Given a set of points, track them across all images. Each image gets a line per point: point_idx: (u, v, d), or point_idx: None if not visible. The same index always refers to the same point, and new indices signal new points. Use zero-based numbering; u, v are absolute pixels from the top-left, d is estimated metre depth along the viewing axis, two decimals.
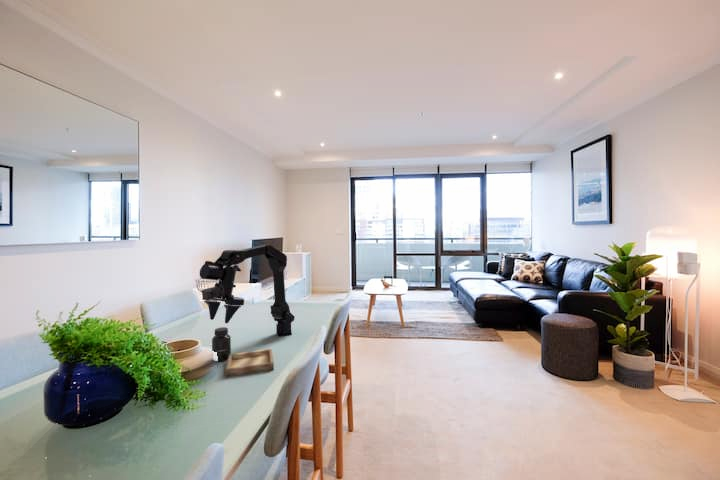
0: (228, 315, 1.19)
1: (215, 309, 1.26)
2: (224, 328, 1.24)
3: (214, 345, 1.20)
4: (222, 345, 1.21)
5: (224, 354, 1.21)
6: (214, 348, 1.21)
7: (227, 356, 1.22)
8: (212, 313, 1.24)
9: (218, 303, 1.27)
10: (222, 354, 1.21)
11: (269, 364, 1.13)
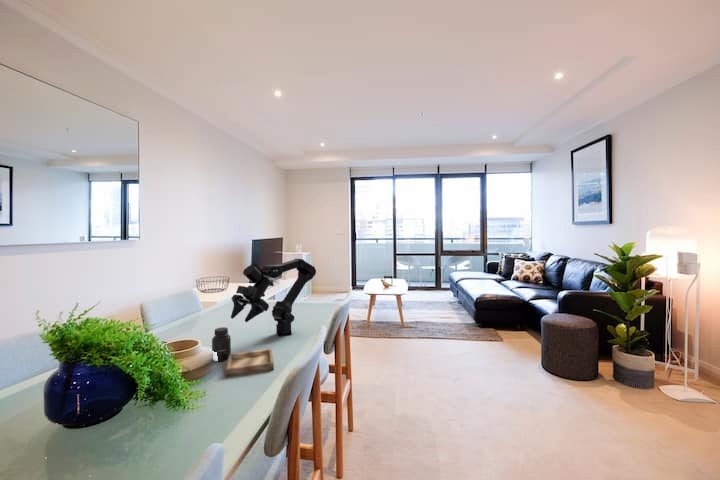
0: (250, 314, 1.28)
1: (238, 311, 1.35)
2: (224, 328, 1.24)
3: (214, 345, 1.20)
4: (222, 345, 1.21)
5: (224, 354, 1.21)
6: (214, 348, 1.21)
7: (227, 356, 1.22)
8: (234, 312, 1.34)
9: (242, 307, 1.37)
10: (222, 354, 1.21)
11: (269, 364, 1.13)
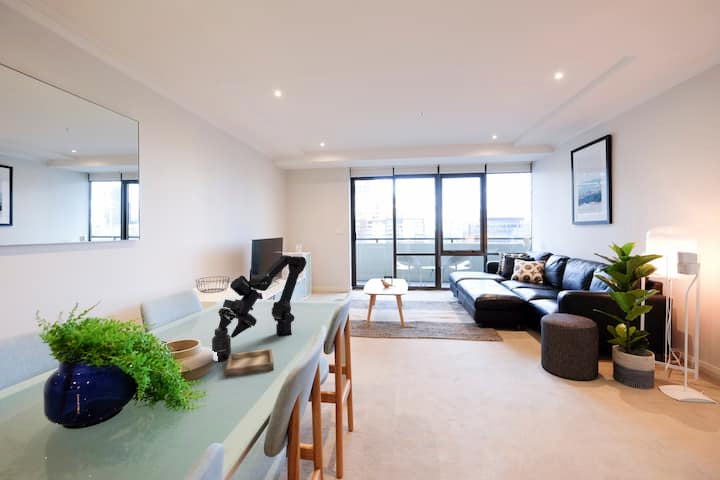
0: (237, 330, 1.23)
1: (224, 325, 1.30)
2: (224, 328, 1.24)
3: (214, 345, 1.20)
4: (222, 345, 1.21)
5: (224, 354, 1.21)
6: (214, 348, 1.21)
7: (227, 356, 1.22)
8: None
9: (229, 321, 1.32)
10: (222, 354, 1.21)
11: (269, 364, 1.13)
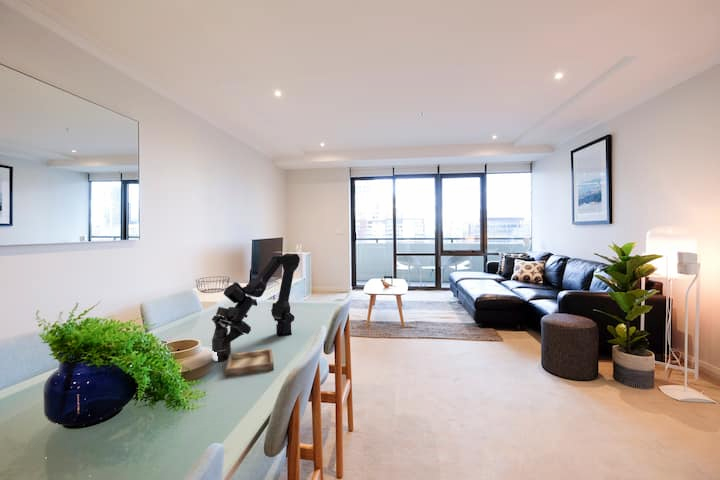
0: (229, 338, 1.21)
1: None
2: (224, 328, 1.24)
3: (214, 345, 1.20)
4: (222, 345, 1.21)
5: (224, 354, 1.21)
6: (214, 348, 1.21)
7: (227, 355, 1.22)
8: None
9: None
10: (222, 354, 1.21)
11: (269, 364, 1.13)
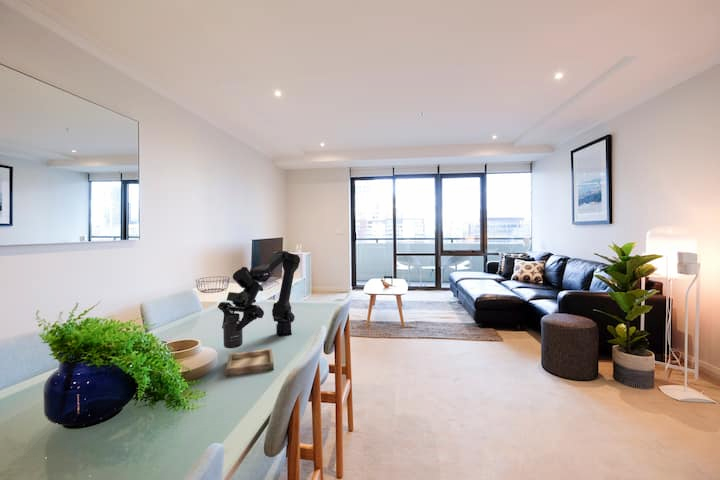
0: (243, 322, 1.18)
1: None
2: (235, 314, 1.20)
3: (227, 332, 1.16)
4: (236, 331, 1.17)
5: (238, 340, 1.18)
6: (227, 334, 1.16)
7: (240, 341, 1.19)
8: None
9: None
10: (236, 340, 1.17)
11: (269, 364, 1.13)
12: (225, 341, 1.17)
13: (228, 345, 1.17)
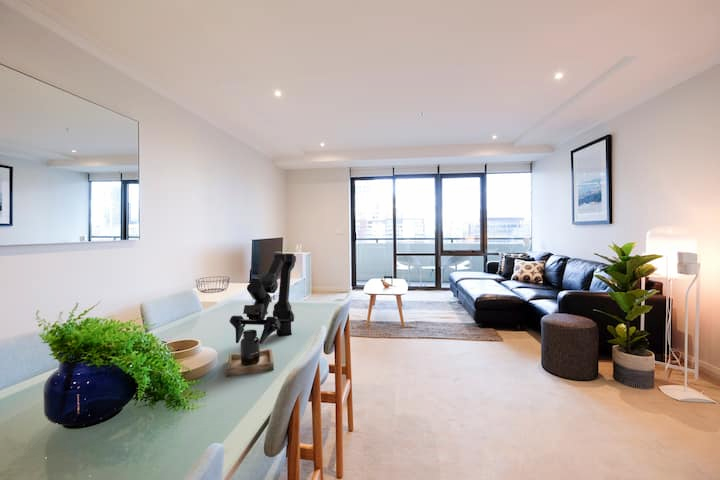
0: (264, 335, 1.17)
1: (240, 333, 1.20)
2: (252, 330, 1.19)
3: (246, 349, 1.14)
4: (256, 347, 1.16)
5: (257, 357, 1.17)
6: (247, 352, 1.14)
7: (259, 358, 1.18)
8: (238, 336, 1.18)
9: (243, 329, 1.22)
10: (256, 356, 1.16)
11: (269, 364, 1.13)
12: (244, 359, 1.15)
13: (248, 363, 1.15)
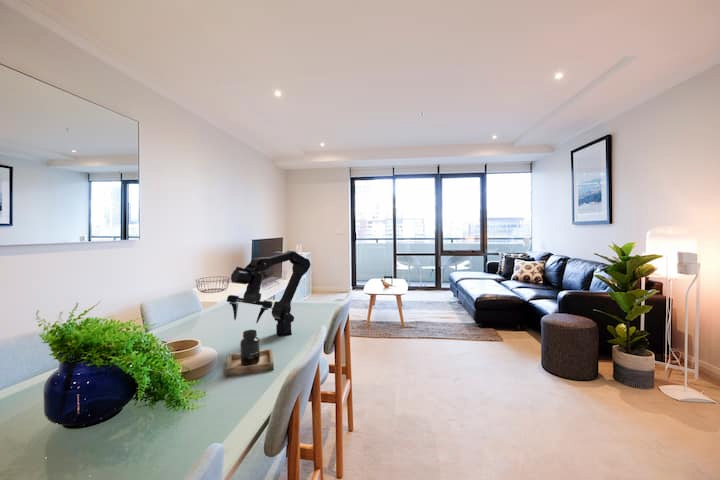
0: (260, 316, 1.37)
1: None
2: (252, 330, 1.19)
3: (246, 349, 1.14)
4: (255, 347, 1.16)
5: (257, 357, 1.17)
6: (247, 352, 1.14)
7: (259, 358, 1.18)
8: (236, 314, 1.35)
9: None
10: (256, 356, 1.16)
11: (269, 364, 1.13)
12: (244, 359, 1.15)
13: (247, 363, 1.15)
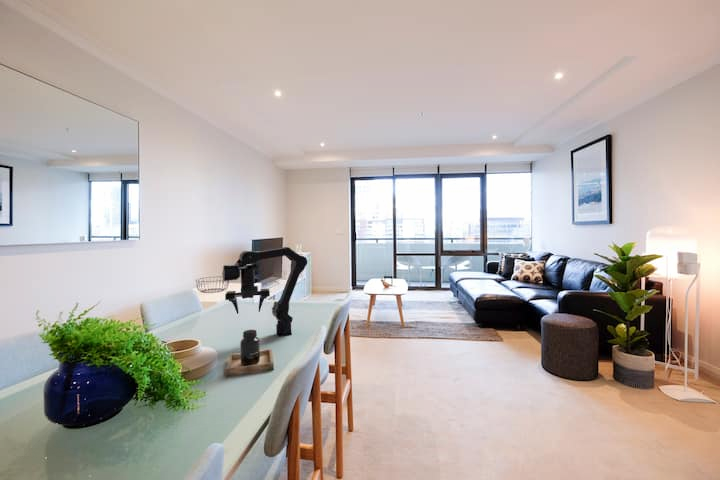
0: (261, 305, 1.44)
1: (237, 304, 1.42)
2: (252, 330, 1.19)
3: (246, 349, 1.14)
4: (255, 347, 1.16)
5: (257, 357, 1.17)
6: (247, 352, 1.14)
7: (259, 358, 1.18)
8: (237, 308, 1.41)
9: (236, 298, 1.42)
10: (256, 356, 1.16)
11: (269, 364, 1.13)
12: (244, 359, 1.15)
13: (247, 363, 1.15)
